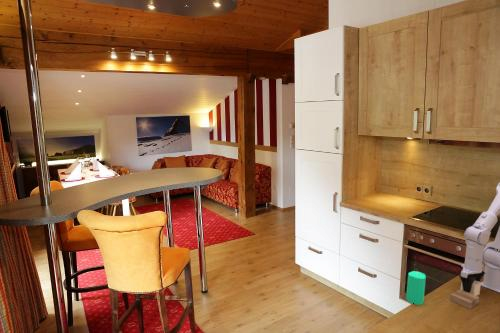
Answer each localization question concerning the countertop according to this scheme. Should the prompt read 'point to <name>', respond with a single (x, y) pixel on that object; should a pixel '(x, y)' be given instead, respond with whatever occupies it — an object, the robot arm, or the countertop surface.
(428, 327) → the countertop surface
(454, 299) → the stand
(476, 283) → the block
